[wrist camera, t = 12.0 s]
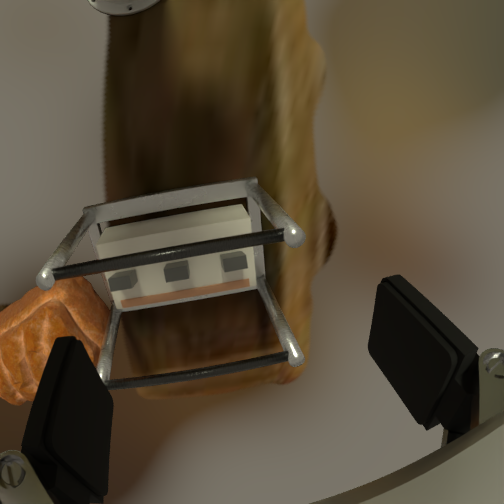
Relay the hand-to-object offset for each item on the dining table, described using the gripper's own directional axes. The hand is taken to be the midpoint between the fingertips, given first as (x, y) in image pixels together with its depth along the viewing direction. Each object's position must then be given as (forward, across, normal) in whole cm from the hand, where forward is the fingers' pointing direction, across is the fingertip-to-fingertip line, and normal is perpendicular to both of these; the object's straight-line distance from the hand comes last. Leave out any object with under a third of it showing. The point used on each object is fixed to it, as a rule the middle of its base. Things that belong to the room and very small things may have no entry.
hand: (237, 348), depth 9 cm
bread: (+37, +31, +22) cm, 53 cm away
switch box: (+36, +4, +12) cm, 39 cm away
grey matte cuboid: (+30, -3, +12) cm, 33 cm away
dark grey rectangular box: (+30, +4, +12) cm, 33 cm away
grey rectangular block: (+30, +11, +12) cm, 34 cm away
